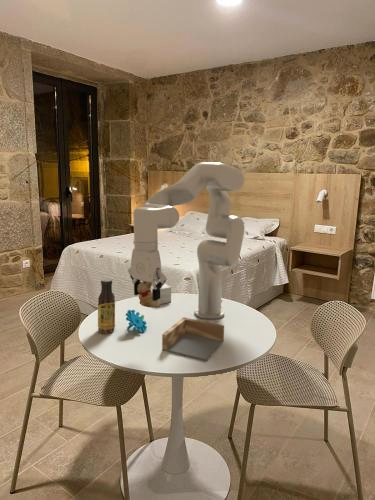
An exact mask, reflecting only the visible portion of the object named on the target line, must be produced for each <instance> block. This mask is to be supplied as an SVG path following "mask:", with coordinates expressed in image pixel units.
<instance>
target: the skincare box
mask: <svg viewBox="0 0 375 500" xmlns="http://www.w3.org/2000/svg"><path fill="white" fill-rule="evenodd" d="M158 301H159V304H160V305H163V304H167V303H172V286H170V285H168V284H167V283H164V285H163V286H162V287H161V288H160V299H158Z"/></svg>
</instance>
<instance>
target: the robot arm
mask: <svg viewBox="0 0 375 500" xmlns="http://www.w3.org/2000/svg"><path fill="white" fill-rule="evenodd" d="M244 185H245V175H244V174H243V172H242V170H240V169H239V168H237V167H233V166H231V165H229V164H225V163H223V162H206V161H205V162H198V163H196V164H194V165H193V166H192V167H191V168H190V169H189V170H188V171H187V172H186V173H185V174H184V175H183V176H182V177H181V178H180V179H179V180H178V181H177V182H176V183H174V184H172V185H169V186H167V187H165V188H163V189H161V190H159V191H156V192H155V193H153V194H152V195H151V196H150V197H149V198H147V200H146V201H145V202H144V203H142V206H141V207H135V209H133V245H134V246H133V247H134V248H133V249H132V252H131V257H130V258H131V259H130V260H131V261H130V268H128V269H127V272H128V274H129V277H130V279H131V280H132V284H133V295H134V296H139V292H138V291H137V286H138V285H139V284H140V283H142V282H143V281H145V282H151V283H152V285H151V286H152V287H153V289H152V290H151V292H152V299H153V301H156V300H158V299H160V288H161V287H162V286H163V285H164V284H166V282H167V280H168V278H167V277H166V276H165V274H164V273H163V271H162V262H161V255H160V251H159V248H158V247H159V243H158V240H159V239H158V237H159V236H158V230H159V229H171V228H174V227H175V226H176V225H177V224H178V223H179V221H180V213H179V211H178V209H177V208H176V207H175V206H180V205H184V204H189V203H191V202H192V201H194V200H195V199H196V198H197V197H198V196H199V195H200V193H201V192H202V191H203V190H204V189H205V188H206V190H207V192H208V194H209V195H208V196H209V199H210V200H209V201H210V202H209V209H208V215H207V217H206V218H207V219H206V225H205V233H206V235H208V236H210V237H213V238H218V239H225V240H226V241H221V240H215V239H205V240H202V241H201V242H199V244H198V245H197V250H196V255H197V256H196V257H197V259H198V272H199V273H198V307H196V308H195V309H194V315H195V316H196V317H197V318H201V319H205V320H217V319H218V320H219V319H221V318H223V317H224V316H225V313H226V312H225V310H224V309H223V308H222V303H223V299H222V289H223V272H222V268H221V267H226V268H233V267H235V266H236V265H237V264H238V262H239V258H240V255H241V250H242V245H243V241H244V236H245V222H244V220H243V218H242V217H240V216H237V215H231V209H232V201H231V198H230V195H229V194H228V192H238V191H241V189H242V188H243V186H244Z"/></svg>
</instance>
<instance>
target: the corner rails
mask: <svg viewBox="0 0 375 500" xmlns="http://www.w3.org/2000/svg"><path fill="white" fill-rule="evenodd" d="M184 333H189V334H193V335H198V336H202V337H207V338H211V339H215V340H220V341H223V342H224V339H225V338H224V337H225V336H224V335H225V325H222V324H218V323H213V322H209V321H203V320H199V319H194V318H189V317H185V316H183V317H181V318H180V319H179V320H178V321H177V322H176V323H174V324H173V325H172V326H170V327H169V328H168V329H167V330H165V331H164V332H163V333H162V334H161V336H162V338H161V341H162V343H161V351H163V350H164V351H163V352H166V349H168V348H169V347H170V346H171V345H172V344H173V343H174V342H175V341H177V340H178V339H179V338H180V337H181V336H182V335H183V334H184Z"/></svg>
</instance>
